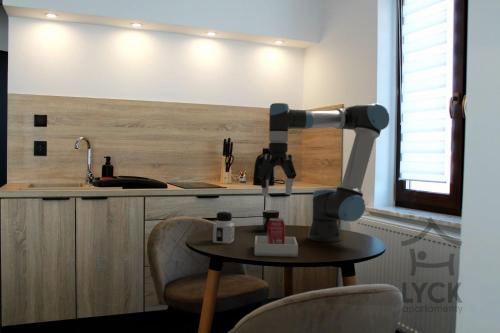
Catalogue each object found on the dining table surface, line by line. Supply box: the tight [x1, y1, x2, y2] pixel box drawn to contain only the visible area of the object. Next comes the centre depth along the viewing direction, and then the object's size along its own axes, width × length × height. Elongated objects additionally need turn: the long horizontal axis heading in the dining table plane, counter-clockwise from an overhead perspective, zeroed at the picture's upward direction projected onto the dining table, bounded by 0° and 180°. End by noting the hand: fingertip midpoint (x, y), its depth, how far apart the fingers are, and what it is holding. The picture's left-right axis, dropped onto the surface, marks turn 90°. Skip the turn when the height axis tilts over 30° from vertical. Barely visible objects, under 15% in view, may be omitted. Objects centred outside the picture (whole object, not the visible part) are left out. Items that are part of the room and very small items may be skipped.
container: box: [212, 211, 235, 244], centre depth 201 cm, size 8×8×13 cm
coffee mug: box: [261, 209, 280, 233], centre depth 233 cm, size 12×9×10 cm
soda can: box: [266, 217, 286, 244], centre depth 183 cm, size 7×7×12 cm
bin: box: [254, 235, 299, 258], centre depth 184 cm, size 17×17×4 cm
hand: (277, 195), depth 183 cm, fingers open, 13 cm apart
